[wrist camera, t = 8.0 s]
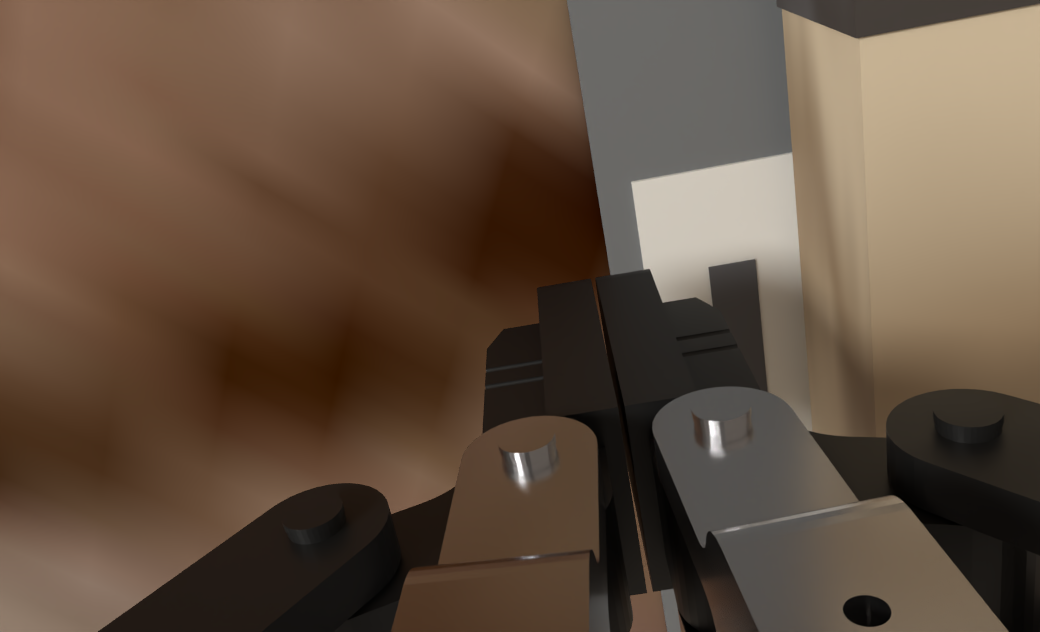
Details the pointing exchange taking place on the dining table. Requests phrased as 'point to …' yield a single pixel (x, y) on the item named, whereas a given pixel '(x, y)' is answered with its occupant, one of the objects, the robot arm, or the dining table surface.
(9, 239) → the dining table surface
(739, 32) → the label mat
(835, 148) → the swing arm
